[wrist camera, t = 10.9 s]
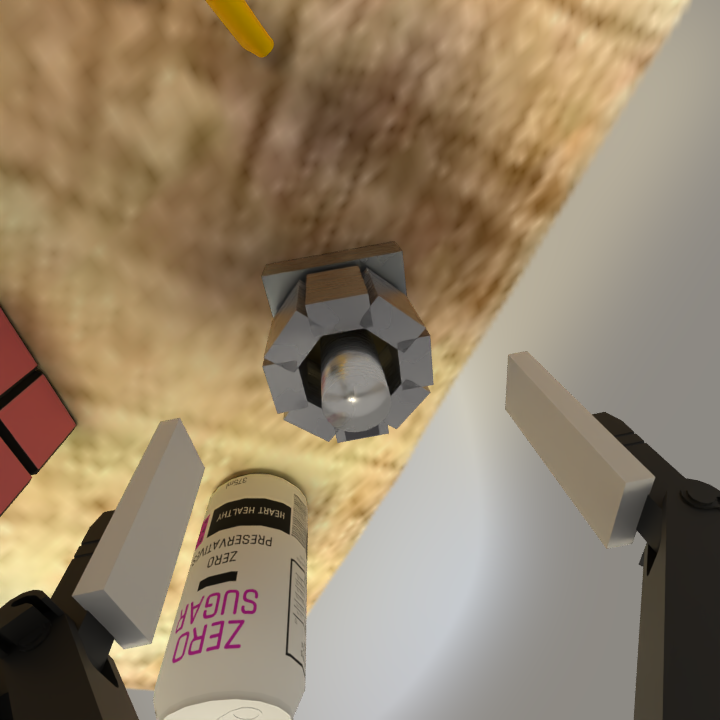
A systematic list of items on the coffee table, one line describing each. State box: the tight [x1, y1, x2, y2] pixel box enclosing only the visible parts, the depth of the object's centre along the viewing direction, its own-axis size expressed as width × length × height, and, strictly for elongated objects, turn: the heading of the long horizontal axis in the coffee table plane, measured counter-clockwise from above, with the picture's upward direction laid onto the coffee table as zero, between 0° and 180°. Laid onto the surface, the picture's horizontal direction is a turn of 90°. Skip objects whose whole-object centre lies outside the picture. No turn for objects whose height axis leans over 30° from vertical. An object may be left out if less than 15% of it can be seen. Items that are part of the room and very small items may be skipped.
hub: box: [263, 266, 433, 443], centre depth 21 cm, size 8×8×5 cm
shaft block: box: [261, 242, 407, 432], centre depth 21 cm, size 8×8×10 cm
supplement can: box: [153, 474, 308, 720], centre depth 27 cm, size 8×8×15 cm
